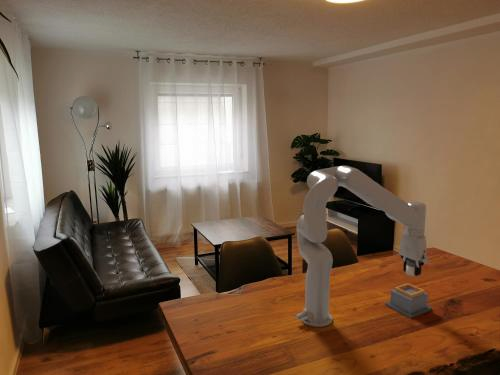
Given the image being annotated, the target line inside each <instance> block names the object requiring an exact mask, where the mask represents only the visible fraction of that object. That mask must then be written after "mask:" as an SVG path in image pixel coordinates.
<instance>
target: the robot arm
mask: <svg viewBox="0 0 500 375" xmlns="http://www.w3.org/2000/svg"><path fill="white" fill-rule="evenodd" d="M306 184H307V187H308V188H309V190H308V192H307V193H306V195H305V196H304V200H303V205H302V211H303V214H302V215H300V216H299V218H298V219H297V221H296V225H295V226H296V238H297V246H298V253H299V255H300V256H301V257H302V259H303V260H305V263H307V270H306V273H305V290H304V291H305V295H304V296H305V297H304V298H305V300H304V305H305V306H304V308H303V309H302V312H300V313H297V314H295V316H294V317H295V319H296V320H297V321H299V320H301V321H302V322H303V323H304V324H305V325H308V326H309V327H314V328H315V327H316V328H323V327H327V326H330V325H331V324H332V322H333V316H332V313H329V311H330V289H331V288H330V287H331V286H330V280H331V271H332V267H333V262H334V260H333V255H332V252H331V251H330V250H329V249H328V247H327V246H325V245H324V244H323V243H324V242H325V241H326V240H327V236H328V224H327V212H326V207H327V204H328V202H329V200H330V198H332V197H333V196H334V195H335V193H336V192H337V191H338V187H343V188H345V189H347V190H348V191H349V192H351V193H353V194H354V195H356V196H357V197H358V198H360V199H361V200H362V201H363V202H365V203H366V204H368V205H370V206H372V207H373V208H376V209H378V210H380V211H383V212H384V213H385V215H386V216H387V218H389V219H390V220H392V221H395V222H397V223H399V224H401V225H403V227H402V229H403V230H404V231H403V232H402V235H401V239H400V243H399V249H398V250H397V253H398V255H399V256H400V258H401V260H402V263H403V265H402V266H403V268H402V269H403V272H406V262H407V259H408V258H409V259H412V260H415V261H416V267H415V276H414V277H418V276H421V274H422V267H423V266H425V265H426V264H428V263H430V259H429V258H428V256H427V239H426V235H425V233H426V232H425V230H426V228H425V227H426V215H427V205H426V204H425V203H423V202H422V201H408V202H406V201H405V200H403V199H402V198H400V197H399V196H397V195H395V194H394V193H393V192H391V191H390V190H388V189H386V188H385V187H383V186H382V185H381V184H379V183H378V182H376V181H374V180H373V179H372V178H371V177H369V176H368V175H367V174H365V173H364V172H362V171H361V170H359V169H358V168H356V167H352V166H349V165H340V166H339V165H338V166H333V167H329V168H328V167H327V168H323V169H321V168H320V169H317V170H313V171H312V172H310V173H309V175H307V179H306Z"/></svg>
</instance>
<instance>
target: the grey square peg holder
mask: <svg viewBox="0 0 500 375" xmlns="http://www.w3.org/2000/svg"><path fill="white" fill-rule="evenodd" d="M428 299H429V293H427V292H425V290H424V289H422V288H421V287H418V286H415V285H413V284H412V283H409V282H407V283H404V284H401V285H398V286H394V289H392V290H391V291H390V300H389V301H387V302H385V303H384V306H386V307H388V308H390V309H391V310H394V311H395V312H398V313H399V314H401V315H403V316H405V317H407V318H409V319H412V318H414V317H418V316H420V315H422V314H425V313H426V312H427V313H428V312H429V311H432V310H433V307H432V306H430V305H428Z"/></svg>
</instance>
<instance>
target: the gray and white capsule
mask: <svg viewBox="0 0 500 375" xmlns="http://www.w3.org/2000/svg"><path fill="white" fill-rule="evenodd" d="M415 267H416V261H415V260H412V259H409V258H408V259H407V262H406V271H405V274H406V275H408V276H410V277H416V276H415Z"/></svg>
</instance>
